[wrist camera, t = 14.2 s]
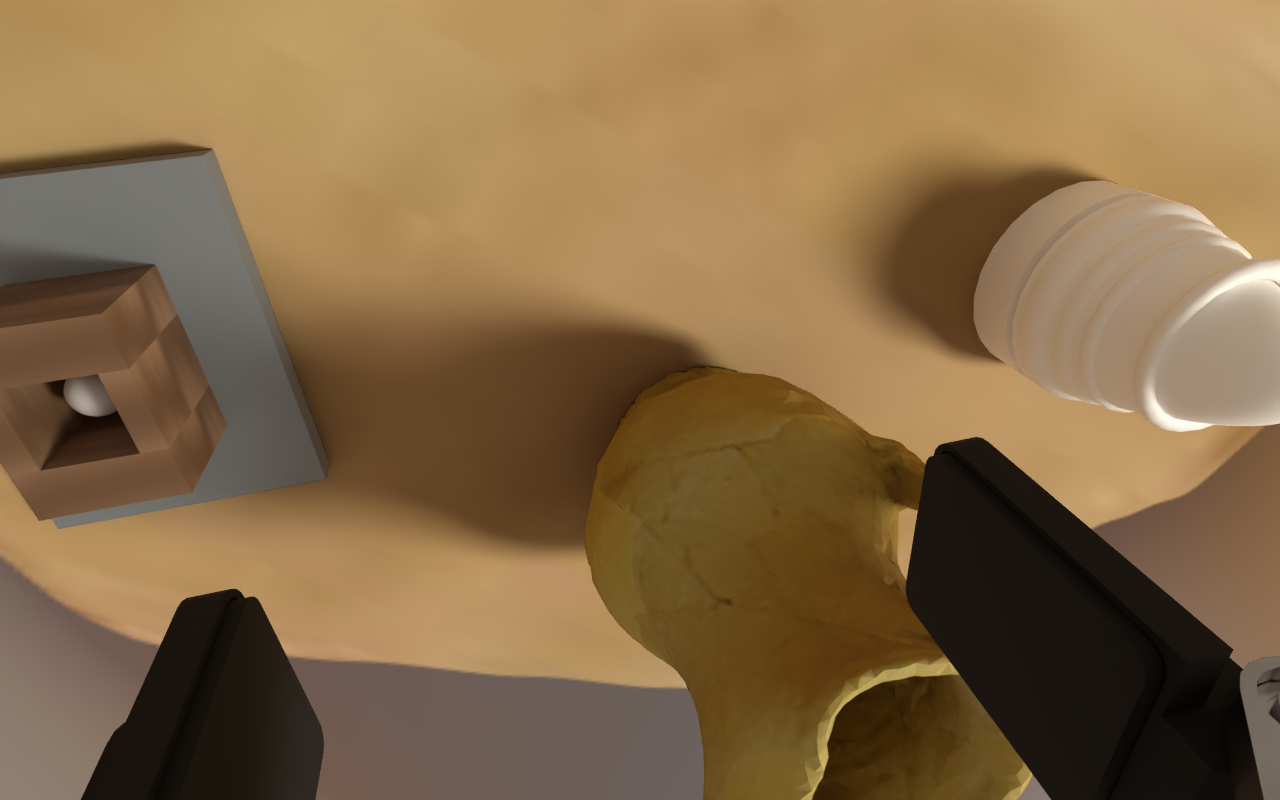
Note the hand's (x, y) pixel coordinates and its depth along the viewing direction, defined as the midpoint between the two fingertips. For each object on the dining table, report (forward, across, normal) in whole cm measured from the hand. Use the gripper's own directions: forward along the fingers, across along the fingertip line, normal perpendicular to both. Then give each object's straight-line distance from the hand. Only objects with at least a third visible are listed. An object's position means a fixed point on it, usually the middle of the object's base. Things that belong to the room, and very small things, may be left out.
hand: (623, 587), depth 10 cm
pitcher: (+31, -10, +20) cm, 38 cm away
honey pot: (+31, -35, +12) cm, 48 cm away
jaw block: (+29, +20, +7) cm, 36 cm away
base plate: (+30, +20, +7) cm, 37 cm away
